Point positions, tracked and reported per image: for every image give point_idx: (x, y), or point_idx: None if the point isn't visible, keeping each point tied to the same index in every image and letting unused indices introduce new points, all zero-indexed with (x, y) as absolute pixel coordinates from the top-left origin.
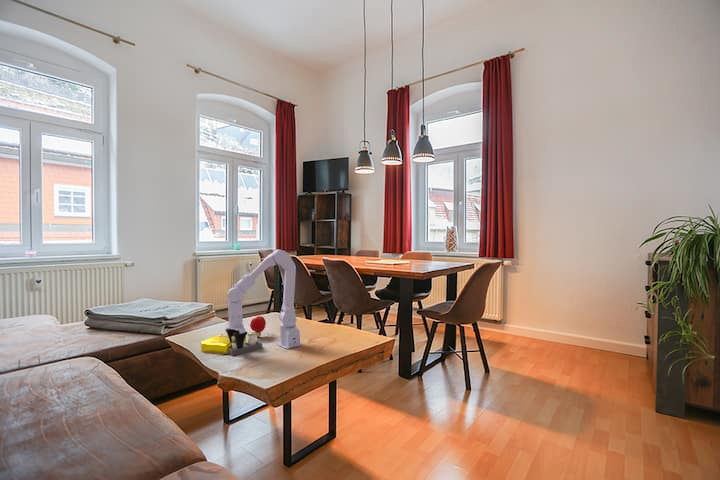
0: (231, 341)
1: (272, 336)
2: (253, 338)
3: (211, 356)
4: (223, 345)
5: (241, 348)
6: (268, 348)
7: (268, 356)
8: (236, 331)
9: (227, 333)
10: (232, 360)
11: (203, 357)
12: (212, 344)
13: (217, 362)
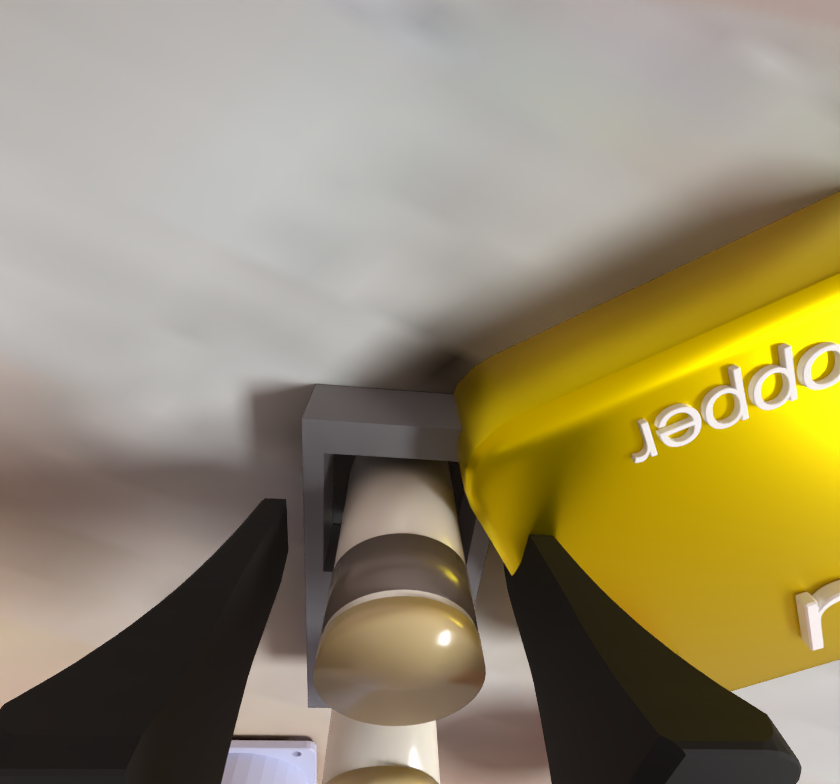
0: (528, 554)
1: (537, 778)
2: (328, 739)
3: (529, 182)
4: (515, 415)
5: (305, 537)
6: (270, 677)
7: (30, 604)
8: (559, 780)
9: (655, 661)
10: (126, 318)
11: (604, 54)
12: (752, 309)
13: (175, 114)
